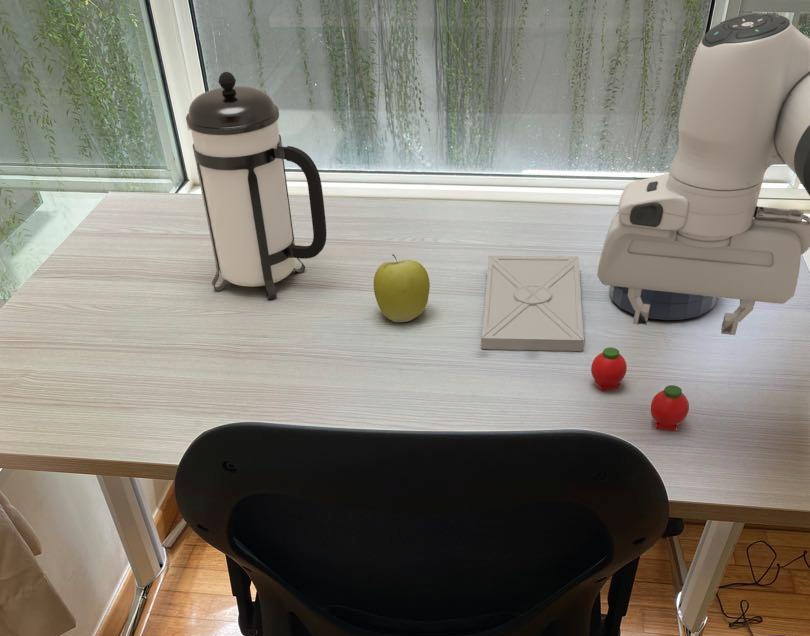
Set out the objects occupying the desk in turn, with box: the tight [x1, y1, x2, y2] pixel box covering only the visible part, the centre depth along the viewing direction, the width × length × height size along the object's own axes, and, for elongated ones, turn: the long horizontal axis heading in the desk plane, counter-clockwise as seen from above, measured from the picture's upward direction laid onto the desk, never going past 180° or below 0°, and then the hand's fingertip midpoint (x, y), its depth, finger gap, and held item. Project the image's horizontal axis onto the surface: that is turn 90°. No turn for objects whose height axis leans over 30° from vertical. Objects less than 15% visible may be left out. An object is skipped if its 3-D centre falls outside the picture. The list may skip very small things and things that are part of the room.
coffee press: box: [185, 71, 327, 300], centre depth 128 cm, size 17×16×30 cm
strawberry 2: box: [590, 347, 628, 392], centre depth 111 cm, size 4×4×5 cm
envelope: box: [480, 255, 584, 352], centre depth 127 cm, size 24×2×14 cm
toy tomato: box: [650, 384, 690, 432], centre depth 104 cm, size 4×4×5 cm
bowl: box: [608, 286, 718, 321], centre depth 127 cm, size 15×15×6 cm
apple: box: [373, 254, 431, 323], centre depth 125 cm, size 8×8×10 cm
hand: (683, 326), depth 97 cm, fingers open, 8 cm apart
